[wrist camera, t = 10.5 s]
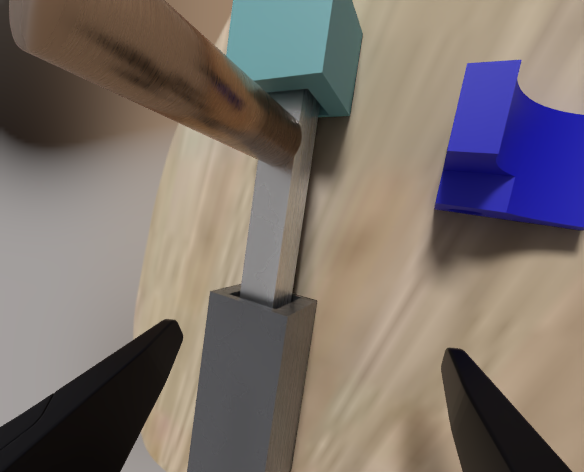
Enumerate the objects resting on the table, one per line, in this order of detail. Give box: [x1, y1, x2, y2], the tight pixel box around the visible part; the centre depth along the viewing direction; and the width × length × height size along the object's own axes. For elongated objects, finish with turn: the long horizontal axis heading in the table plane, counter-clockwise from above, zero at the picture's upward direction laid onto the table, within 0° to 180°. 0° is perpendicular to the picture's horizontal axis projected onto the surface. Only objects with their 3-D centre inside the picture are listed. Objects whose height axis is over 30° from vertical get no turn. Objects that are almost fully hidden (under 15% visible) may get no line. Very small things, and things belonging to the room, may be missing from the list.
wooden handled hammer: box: [9, 0, 320, 309], centre depth 12 cm, size 18×3×13 cm, turn 171°
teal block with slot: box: [226, 0, 363, 117], centre depth 16 cm, size 5×6×5 cm
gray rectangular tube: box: [187, 284, 317, 472], centre depth 18 cm, size 12×5×4 cm, turn 171°
